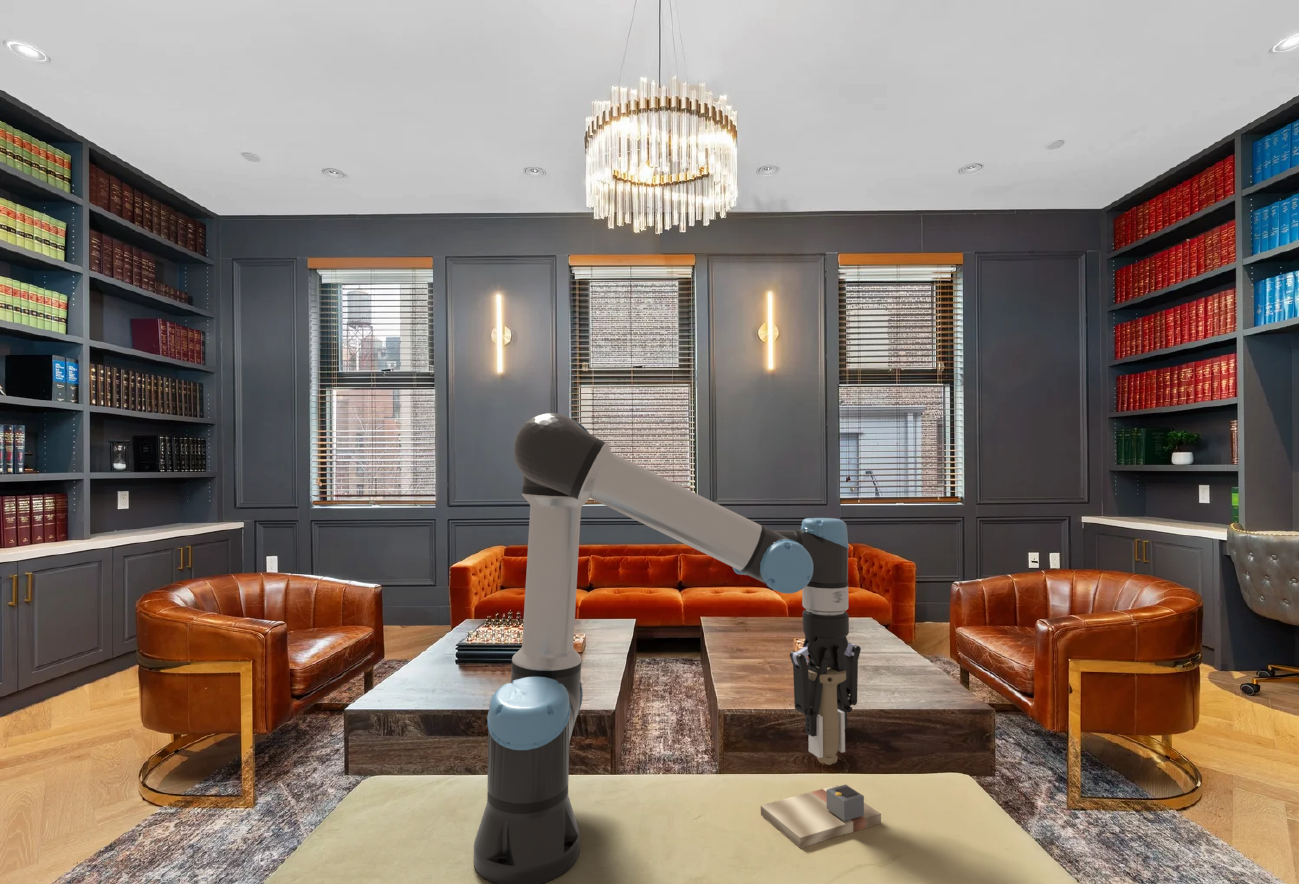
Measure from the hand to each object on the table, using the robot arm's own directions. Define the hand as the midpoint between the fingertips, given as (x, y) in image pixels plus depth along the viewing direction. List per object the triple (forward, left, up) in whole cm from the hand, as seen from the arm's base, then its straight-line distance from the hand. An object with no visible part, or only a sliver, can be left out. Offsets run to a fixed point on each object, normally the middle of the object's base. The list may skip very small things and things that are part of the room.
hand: (826, 751), depth 106 cm
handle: (0, 0, -2) cm, 2 cm away
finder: (-1, -5, -7) cm, 9 cm away
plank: (-4, -2, -9) cm, 10 cm away
